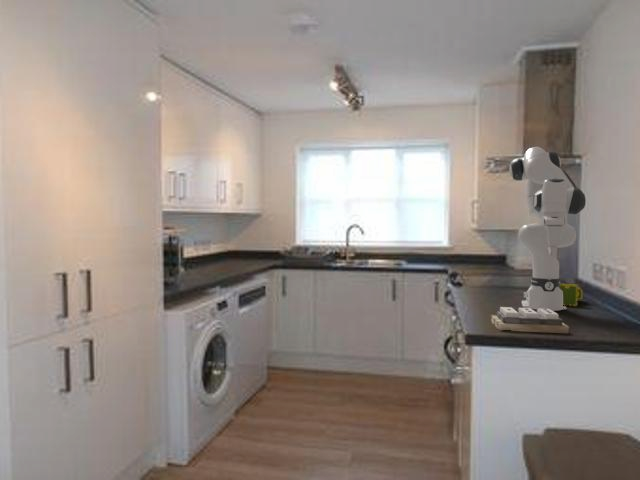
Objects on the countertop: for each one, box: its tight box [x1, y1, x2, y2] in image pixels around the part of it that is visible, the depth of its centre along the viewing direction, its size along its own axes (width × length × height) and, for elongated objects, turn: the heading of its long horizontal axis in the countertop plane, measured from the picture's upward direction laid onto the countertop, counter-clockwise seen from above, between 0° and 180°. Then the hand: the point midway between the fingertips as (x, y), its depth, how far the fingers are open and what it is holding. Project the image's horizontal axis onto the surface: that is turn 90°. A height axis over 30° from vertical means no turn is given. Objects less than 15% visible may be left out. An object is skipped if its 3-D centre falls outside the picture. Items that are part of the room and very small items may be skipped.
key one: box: [499, 306, 519, 318], centre depth 189 cm, size 11×4×2 cm, turn 171°
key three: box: [536, 308, 559, 319], centre depth 187 cm, size 11×4×2 cm, turn 171°
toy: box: [559, 283, 584, 307], centre depth 249 cm, size 17×10×30 cm
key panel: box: [490, 310, 570, 334], centre depth 188 cm, size 16×24×4 cm, turn 81°
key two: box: [517, 307, 538, 319], centre depth 188 cm, size 11×4×2 cm, turn 171°
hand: (553, 257), depth 188 cm, fingers open, 8 cm apart
